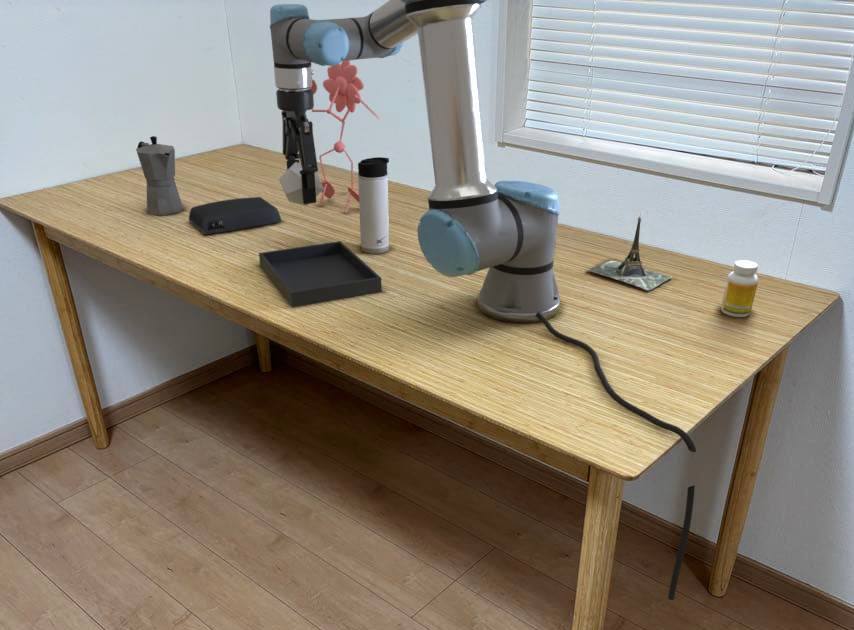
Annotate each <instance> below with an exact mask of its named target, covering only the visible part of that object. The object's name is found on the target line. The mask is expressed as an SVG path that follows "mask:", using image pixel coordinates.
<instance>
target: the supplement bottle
mask: <svg viewBox="0 0 854 630" xmlns="http://www.w3.org/2000/svg"><path fill="white" fill-rule="evenodd" d="M758 268H759V264H758V263H757V262H755V261H751V260H745V259H740V260H736V261H734V264H733V268H732V269H733V271H731V272H729V273H728V274H727V277H726V282H725V286H724V292H723V296H722V301H721V305H720V310H721V312H722V313H723V314H725V315H727V316H729V317H733V318H746V317H748V316H749V315H750V314H752V313H751V312H752V310H753V309H752V308H753V304H754V301H755V297H756V291H757V288H758V283H759V277H758V275H757V274H756V273H757V272H758Z"/></svg>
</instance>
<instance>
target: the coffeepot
mask: <svg viewBox="0 0 854 630" xmlns="http://www.w3.org/2000/svg"><path fill="white" fill-rule="evenodd" d="M149 140H150V142H151V143H150V142H149V143H148V142H144V141H142V140H141V141H139V142H138V144H137V147H136V148H135V150H136V154H137V157H138V161H139V163H140V167H141V169H142V172H143V173H142V174H143V176H144V178H145V180H146V210H147V213H148V214H150V215H153V216H169V215H175V214H178V213H181V212H183V210H184V206H183V202H182V199H181V196H180V194H179V189H178V187H177V184H176V180H175V176H176V153H175V152H176V149H175V147H174V146H173V145H168V144H161V143H158V137H157V136H155V135H153V136H149Z"/></svg>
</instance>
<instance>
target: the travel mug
mask: <svg viewBox="0 0 854 630" xmlns="http://www.w3.org/2000/svg"><path fill="white" fill-rule="evenodd" d="M389 162H390V158H389V157H379V156H377V157H369V158H365V159H362V160H360V161H359V162H358V163H357V170H358V171H357V179H358V180H357V182H358V183H357V184H358V193H359V202H358V207H359V208H358V209H359V217H360V218H359V230H360V250H361V251H362V252H363V253H366V254H370V255H378V254H383V253H387V252H388V251H389V250H390V226H389V178H388V175H389V174H388V164H389Z"/></svg>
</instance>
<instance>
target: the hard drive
mask: <svg viewBox="0 0 854 630" xmlns="http://www.w3.org/2000/svg"><path fill="white" fill-rule="evenodd" d="M188 214H189V215H188V222H189V223H191V225H193V226H194V227H195V228H196V229H198V230H199V231H200V232H201V233H202V234H203V235H209V234H210V235H211V234H216V233H217V234H218V233H223V232H225V233H226V232H230V231H231V232H232V231H236V230H237V231H238V230H243V229H249V228H255V227H260V226H264V225H269V224H270V225H271V224H274V223H280V222H282V221H283V220H282V218H281V217H282V216H281V215H280V212H279V210H278V208H277V207H276V206H274V205H273V204H271V203H270V202H268V201H267V200H265V199H264V198H262V197H261V196H252V197H250V196H249V197H240V198H231V199H224V200H218V201H214V202H208V203H204V204H199V205H196V206H192V207H191V208H190V210H189V213H188Z"/></svg>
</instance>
